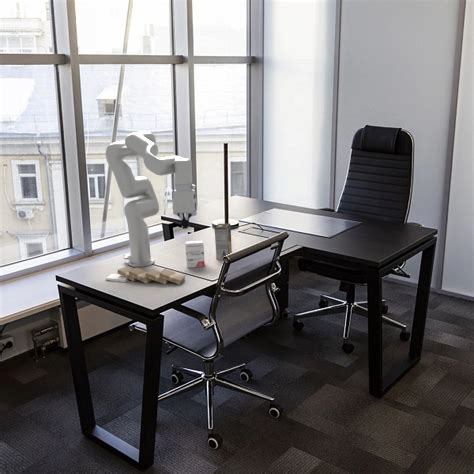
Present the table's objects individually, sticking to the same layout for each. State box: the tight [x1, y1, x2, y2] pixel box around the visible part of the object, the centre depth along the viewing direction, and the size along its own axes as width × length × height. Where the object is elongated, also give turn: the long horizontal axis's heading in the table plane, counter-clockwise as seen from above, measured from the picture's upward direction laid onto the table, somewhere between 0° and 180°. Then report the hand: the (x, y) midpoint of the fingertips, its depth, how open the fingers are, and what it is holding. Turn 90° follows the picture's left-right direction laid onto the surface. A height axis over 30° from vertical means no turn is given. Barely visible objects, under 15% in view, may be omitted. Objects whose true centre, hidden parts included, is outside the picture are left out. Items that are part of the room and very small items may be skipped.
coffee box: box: [214, 223, 233, 260], centre depth 293 cm, size 9×6×16 cm
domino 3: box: [145, 268, 170, 285], centre depth 264 cm, size 2×6×10 cm
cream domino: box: [105, 273, 130, 283], centre depth 270 cm, size 2×6×10 cm
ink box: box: [184, 240, 206, 268], centre depth 282 cm, size 8×5×12 cm, turn 96°
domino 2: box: [129, 267, 154, 285], centre depth 266 cm, size 2×6×10 cm
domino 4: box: [159, 268, 186, 286], centre depth 262 cm, size 2×6×10 cm
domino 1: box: [116, 266, 139, 282], centre depth 270 cm, size 2×6×10 cm
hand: (185, 227), depth 262 cm, fingers closed
